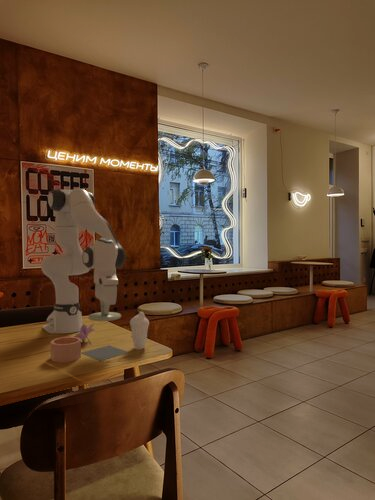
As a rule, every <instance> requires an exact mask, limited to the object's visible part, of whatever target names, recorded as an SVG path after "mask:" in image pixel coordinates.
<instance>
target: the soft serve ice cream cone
mask: <svg viewBox="0 0 375 500" xmlns="http://www.w3.org/2000/svg"><path fill="white" fill-rule="evenodd" d="M129 325H130V329H131V338H132V342H133V343H132V344H133V347H134V349H135V350H143V348H144V349H145V347H146V342H147V338H148V330H149V325H150V321H149V319H148V318H147V317H146V315H145V313H144V312H143V311H139V313H138V314H136V315H135V316H133V317H132V318H130V320H129Z"/></svg>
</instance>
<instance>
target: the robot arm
mask: <svg viewBox="0 0 375 500" xmlns="http://www.w3.org/2000/svg"><path fill="white" fill-rule="evenodd" d="M47 202H48V206H49V209H51V210H52V211H56V213H55V219H54V220H55V221H54V224H55V225H54V230H55V231H54V236H55V237H54V238H55V239H54V240H55V243H56V244H57V245H58V246H60V247H62V248H63V249H64V251H65V254H64V253H63V254H61V253H60V254H52V255H51V254H50V255H48V256H44V257H43V259H42V260H41V263H40V268H41V271H42V274H43V275H45V276H46V277H47V278H49V279H50V280H51V282H52V284H53V287H54V292H55V303H54V304H53V311H52V312H51V313H50V314H49V315H48V316H47V318H46V320H45V321H46V324H45V325H42V329H43V330H45V331H46V332H47V333H49V334H52V335H53V334H72V333H73V334H74V333H76V332H78V333H79V331H80V328H81V326H82V325H83V316H82V314H83V313H82V311H80V306H81V304H80V302H79V300H80V296H79V295H80V294H79V292H80V291H79V290H80V289H79V287H78V285H76V284H75V283H73V282H71V281H70V279H69V276H79V275H83V274H86V273H89V271H91V270H92V269H94V270H93V283H94V284H95V290H94V292H95V293H94V296H95V298H96V299H98V300H99V303H100V306H101V305H104V313H109V312H110V306H112V305H116V303H117V297H118V295H117V294H118V286H119V279H118V277H117V269H120V268H121V267H122V266H124V264H125V263H126V260H127V253H126V251H125V249H124V248H123V247H122V245H121V244H120V242H119V241H118V239H117V237H116V235H115V233H114V231H113V230H112V227H111V225H110V224H109V222H108V221H107V219H105V218H104V217H103V216H102V215H101V214H100V213H99V211H98V210H97V209H96V207H95V204H96V203H95V202H96V200H95V196H94V194H93V193H92V192H90V191H88V190H85V189H84V188H75V189H59V188H56V189H52V190H51V191H50V192H49V194H48V197H47ZM79 228H80V229H83V230H86V231H87V230H88V231H90V232H93V233H96V234H98V235H99V236H100V238H96V240H94V241H95V242H94V243H93V244H92V245H90V246H87V247H86V248H84V249H82V247H81V244H80V240H79Z"/></svg>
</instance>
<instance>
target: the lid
mask: <svg viewBox="0 0 375 500" xmlns="http://www.w3.org/2000/svg"><path fill="white" fill-rule="evenodd" d="M121 318H122V314H121V313H119V312H114V311H109V313H104V305H101V304H100V312H99V311H98V312H94V313H91V314H88V320H90V321H95V322H110V321H116V320H120V319H121Z"/></svg>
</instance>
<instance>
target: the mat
mask: <svg viewBox="0 0 375 500" xmlns="http://www.w3.org/2000/svg"><path fill="white" fill-rule="evenodd" d="M129 353H130V351H127V350H124V349H121V348H118V347H116V346H112V345H110V344H109V345H105V346H102V347H101V346H100V347H98V348H94V349H91V350H86V351H82V352H81V355H85V356H87V357H89V358H91V359H95V360H97V361H99V362H101V361H105V360H108V359H112V358H115V357H119V356H122V354H123V355H126V354H129Z"/></svg>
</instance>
